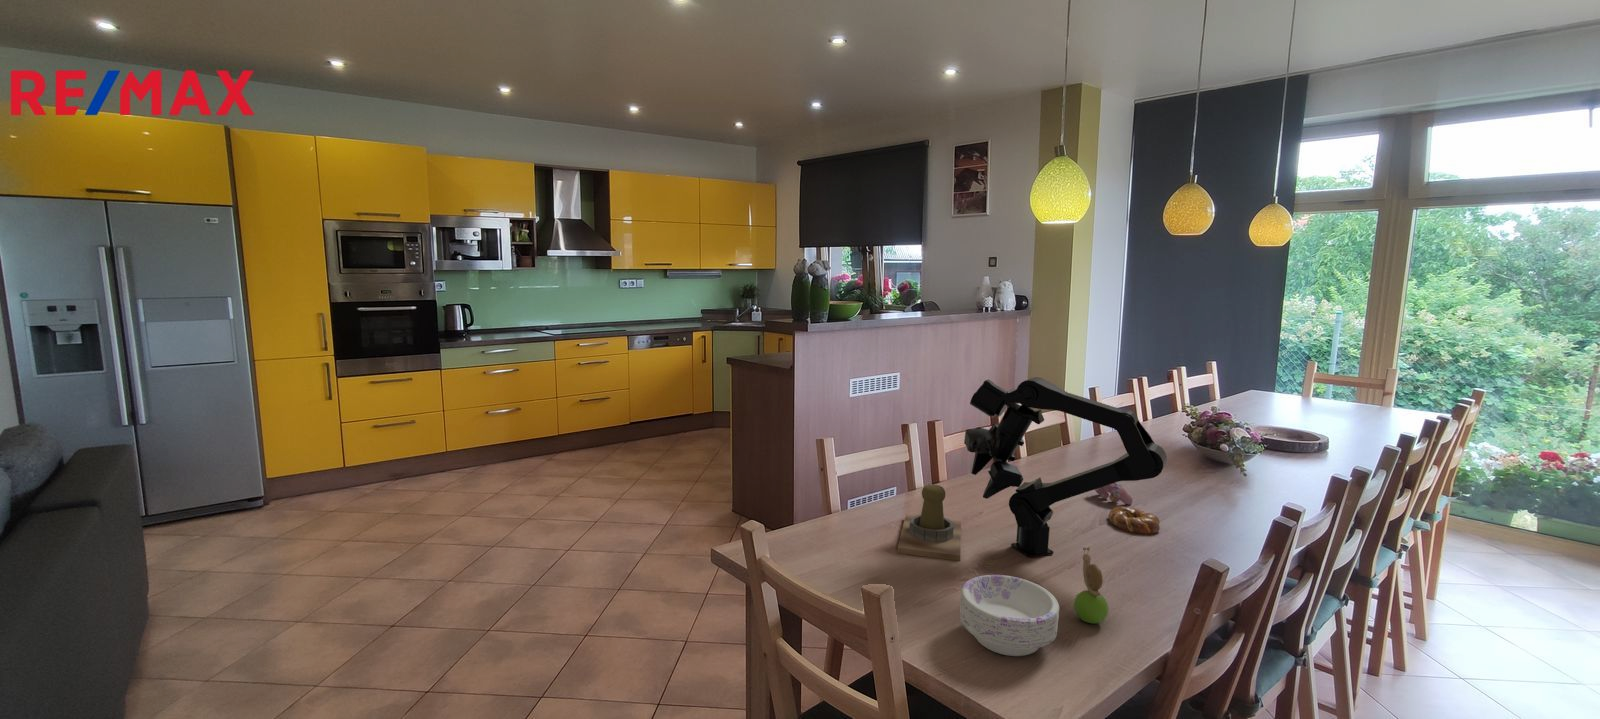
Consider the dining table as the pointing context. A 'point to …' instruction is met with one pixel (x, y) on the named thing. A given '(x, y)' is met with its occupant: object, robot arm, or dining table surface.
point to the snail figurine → (1091, 594)
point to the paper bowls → (1009, 614)
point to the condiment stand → (930, 539)
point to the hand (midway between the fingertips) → (978, 485)
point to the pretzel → (1134, 520)
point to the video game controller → (1115, 493)
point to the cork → (932, 507)
